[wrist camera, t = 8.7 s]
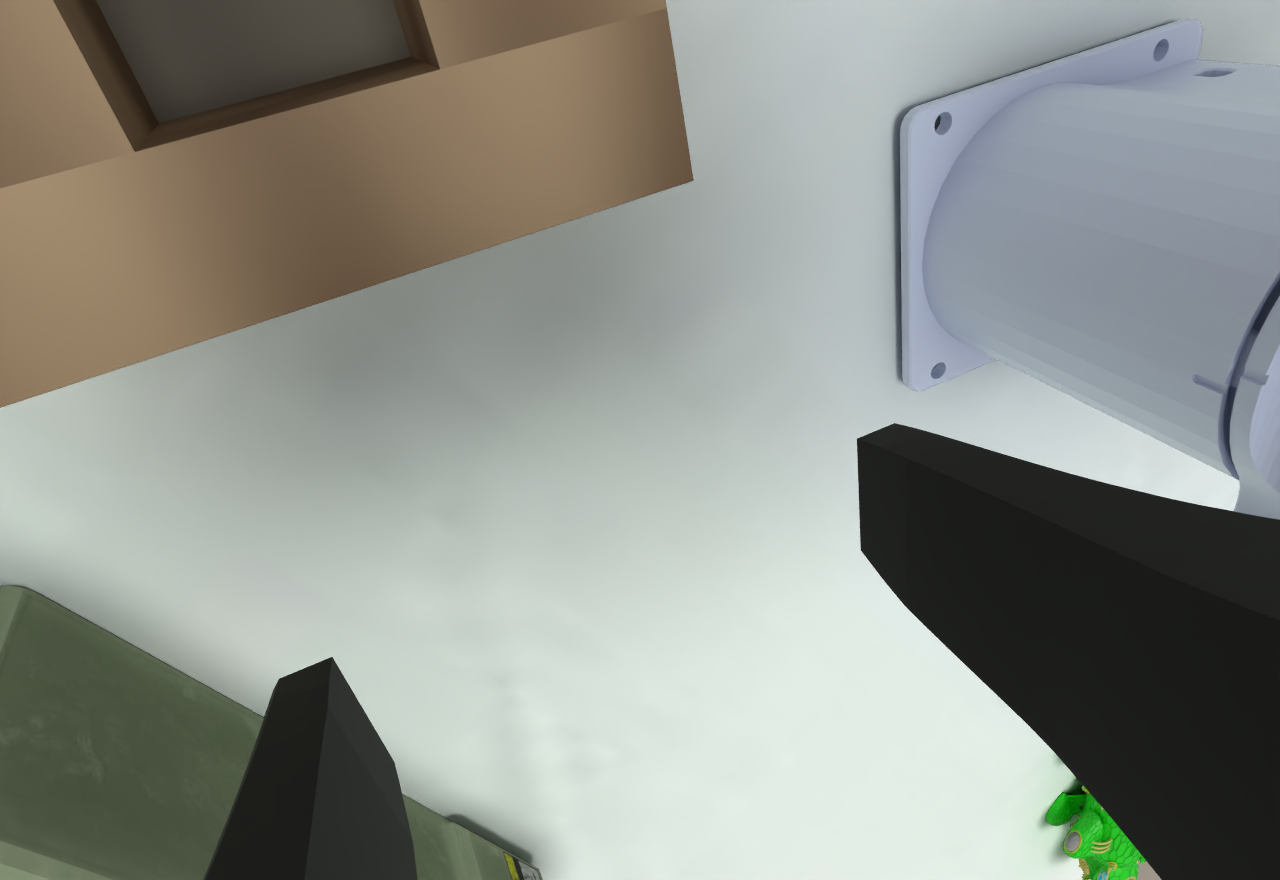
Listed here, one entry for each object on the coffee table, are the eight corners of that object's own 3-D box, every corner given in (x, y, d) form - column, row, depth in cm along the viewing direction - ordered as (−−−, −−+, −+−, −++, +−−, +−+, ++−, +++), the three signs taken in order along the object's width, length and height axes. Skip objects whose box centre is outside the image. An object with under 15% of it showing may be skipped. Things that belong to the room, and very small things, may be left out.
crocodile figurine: (1021, 877, 46) (1082, 949, 43) (1074, 667, 37) (1158, 738, 33) (1107, 829, 48) (1172, 893, 44) (1178, 616, 38) (1268, 678, 35)
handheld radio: (473, 914, 28) (-457, 494, 13) (545, 852, 28) (-293, 367, 13) (530, 1128, 23) (-943, 828, 8) (618, 1050, 23) (-652, 608, 8)
